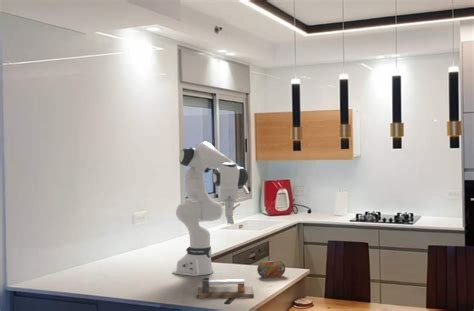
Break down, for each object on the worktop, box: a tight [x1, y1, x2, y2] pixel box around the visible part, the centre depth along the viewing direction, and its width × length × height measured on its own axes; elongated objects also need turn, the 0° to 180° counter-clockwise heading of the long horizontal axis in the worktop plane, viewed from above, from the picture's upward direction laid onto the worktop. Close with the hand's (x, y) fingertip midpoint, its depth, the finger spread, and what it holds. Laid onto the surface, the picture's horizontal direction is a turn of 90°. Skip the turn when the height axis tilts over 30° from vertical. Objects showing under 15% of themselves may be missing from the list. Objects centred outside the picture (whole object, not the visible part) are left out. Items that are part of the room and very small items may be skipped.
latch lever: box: [209, 278, 245, 286], centre depth 251 cm, size 18×4×1 cm, turn 91°
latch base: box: [196, 276, 254, 299], centre depth 251 cm, size 26×14×7 cm, turn 91°
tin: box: [256, 260, 286, 279], centre depth 284 cm, size 15×3×8 cm, turn 105°
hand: (229, 222), depth 268 cm, fingers closed
